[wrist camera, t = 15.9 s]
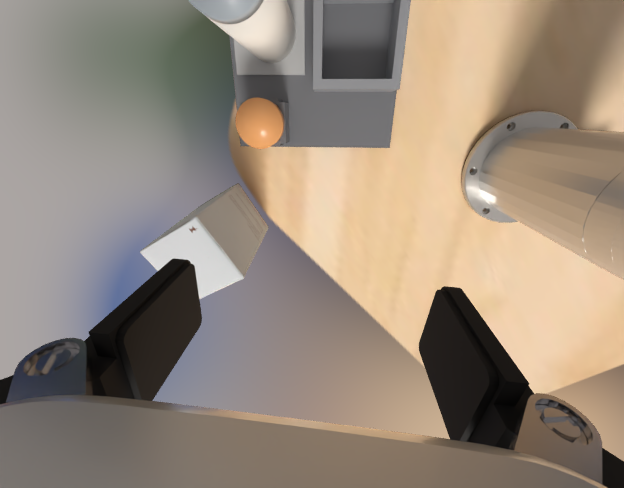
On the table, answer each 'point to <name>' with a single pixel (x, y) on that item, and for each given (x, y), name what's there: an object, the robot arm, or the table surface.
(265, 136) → the glossy orange sphere
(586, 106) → the table surface
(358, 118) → the grey compartment tray
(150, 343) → the robot arm
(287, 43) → the cylinder
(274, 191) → the table surface
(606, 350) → the table surface
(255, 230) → the supplement box
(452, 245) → the table surface
